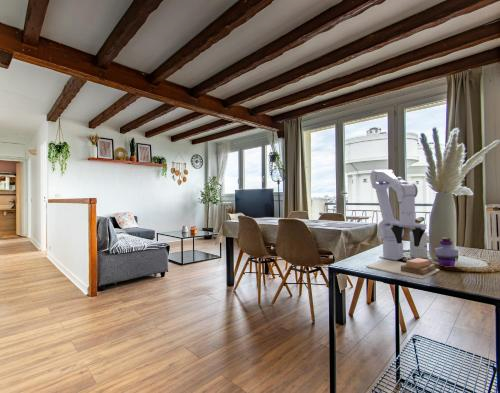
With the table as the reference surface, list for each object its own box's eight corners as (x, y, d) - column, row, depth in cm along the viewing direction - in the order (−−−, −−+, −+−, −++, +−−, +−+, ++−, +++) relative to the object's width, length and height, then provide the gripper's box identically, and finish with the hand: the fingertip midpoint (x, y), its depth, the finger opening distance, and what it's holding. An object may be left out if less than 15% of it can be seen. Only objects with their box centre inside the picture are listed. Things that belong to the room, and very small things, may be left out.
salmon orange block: (406, 269, 110) (406, 260, 109) (418, 266, 113) (417, 257, 113) (418, 272, 106) (418, 263, 106) (429, 268, 109) (429, 260, 109)
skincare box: (416, 258, 129) (415, 233, 129) (409, 256, 133) (408, 231, 133) (428, 257, 130) (427, 232, 129) (421, 255, 134) (420, 230, 134)
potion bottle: (464, 269, 110) (463, 239, 110) (440, 268, 112) (439, 239, 112) (452, 263, 119) (452, 236, 119) (430, 263, 120) (430, 236, 120)
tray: (414, 265, 116) (414, 260, 116) (435, 269, 110) (435, 264, 110) (400, 271, 109) (400, 266, 109) (422, 275, 103) (422, 270, 103)
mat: (385, 260, 127) (385, 259, 127) (439, 270, 110) (439, 269, 110) (366, 267, 118) (366, 265, 118) (422, 279, 100) (422, 277, 100)
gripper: (430, 212, 111) (431, 246, 111) (397, 211, 124) (398, 241, 124) (419, 214, 108) (420, 248, 108) (386, 212, 121) (387, 242, 121)
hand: (407, 244), depth 116 cm, fingers open, 7 cm apart
